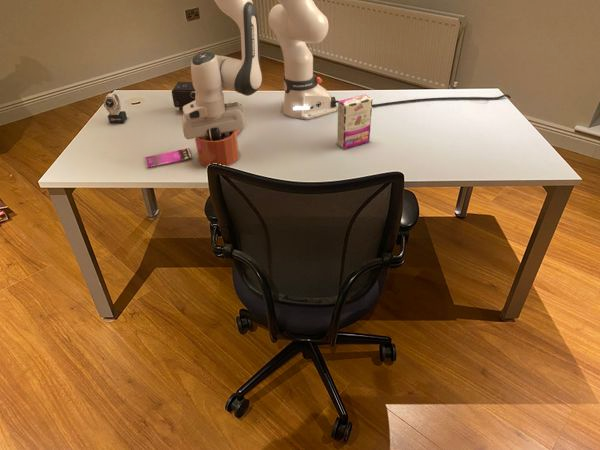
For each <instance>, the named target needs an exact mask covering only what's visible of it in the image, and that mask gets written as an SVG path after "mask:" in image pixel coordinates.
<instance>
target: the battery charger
mask: <svg viewBox="0 0 600 450" xmlns="http://www.w3.org/2000/svg"><path fill="white" fill-rule="evenodd" d="M207 134H208V138H209V141H218V140H222V136H223V133H220V131H219V129H218V128H217V127H215V128H211V129H208V130H207Z"/></svg>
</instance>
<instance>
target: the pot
mask: <svg viewBox="0 0 600 450" xmlns="http://www.w3.org/2000/svg"><path fill="white" fill-rule="evenodd" d="M229 134H230V135H229V137H228V138H225V139H223V140H218V141H208V140H209V138H208V136H206V140H207V141H206V140H202V137H199V138H194V141H195V146H196V147H195V148H196V152H197V158H198V161H199V163H200V164H201V165H203V166H205V167H208V165H209V164H213V163H217V164H221V165H225V166H224V167H227V166H230V165H232V164H234V163H235V162H237V160H238V159H239V155H240V152H239V151H240V150H239V144H238V137H237V136H238V134H237V135H236V131H231V132H229ZM224 136H225V133H223V136H222V138H224Z"/></svg>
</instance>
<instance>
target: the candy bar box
mask: <svg viewBox="0 0 600 450" xmlns="http://www.w3.org/2000/svg"><path fill="white" fill-rule="evenodd" d="M337 101H338V103H337V135H336V136H337V137H336V144H337V145H338V146H339V147H340V148H341V149H342V150H346V149H347V150H348V149H350V148H353V147H357V146H360V145H365V144H367V143H370V138H371V137H370V136H371V126H372V125H371V123H372V122H371V121H372V111H373V107H372V105H373V97H372V98H371V96H368V95H367V94H361V95H357V96H353V97H349V98H345V99H341V100H337Z"/></svg>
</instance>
